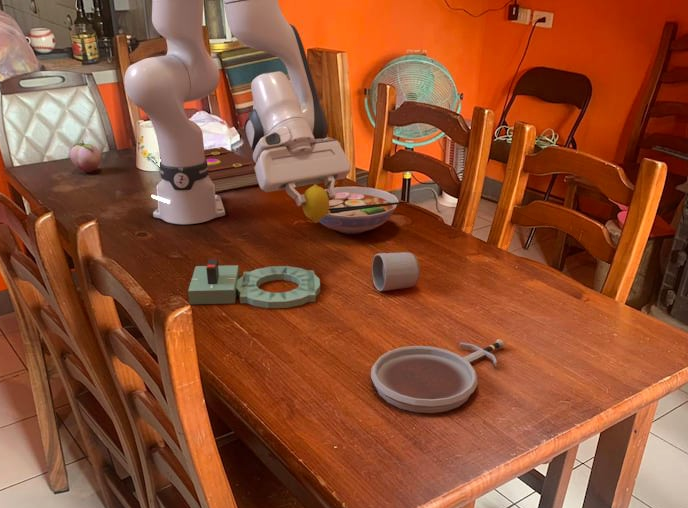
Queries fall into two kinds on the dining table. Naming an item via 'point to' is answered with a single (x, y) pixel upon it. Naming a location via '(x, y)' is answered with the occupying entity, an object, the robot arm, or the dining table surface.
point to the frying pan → (428, 377)
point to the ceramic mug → (395, 271)
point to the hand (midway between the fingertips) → (316, 201)
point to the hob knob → (212, 271)
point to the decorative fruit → (85, 156)
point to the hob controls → (214, 286)
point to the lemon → (316, 203)
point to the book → (229, 170)
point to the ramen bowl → (359, 209)
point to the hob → (296, 297)
